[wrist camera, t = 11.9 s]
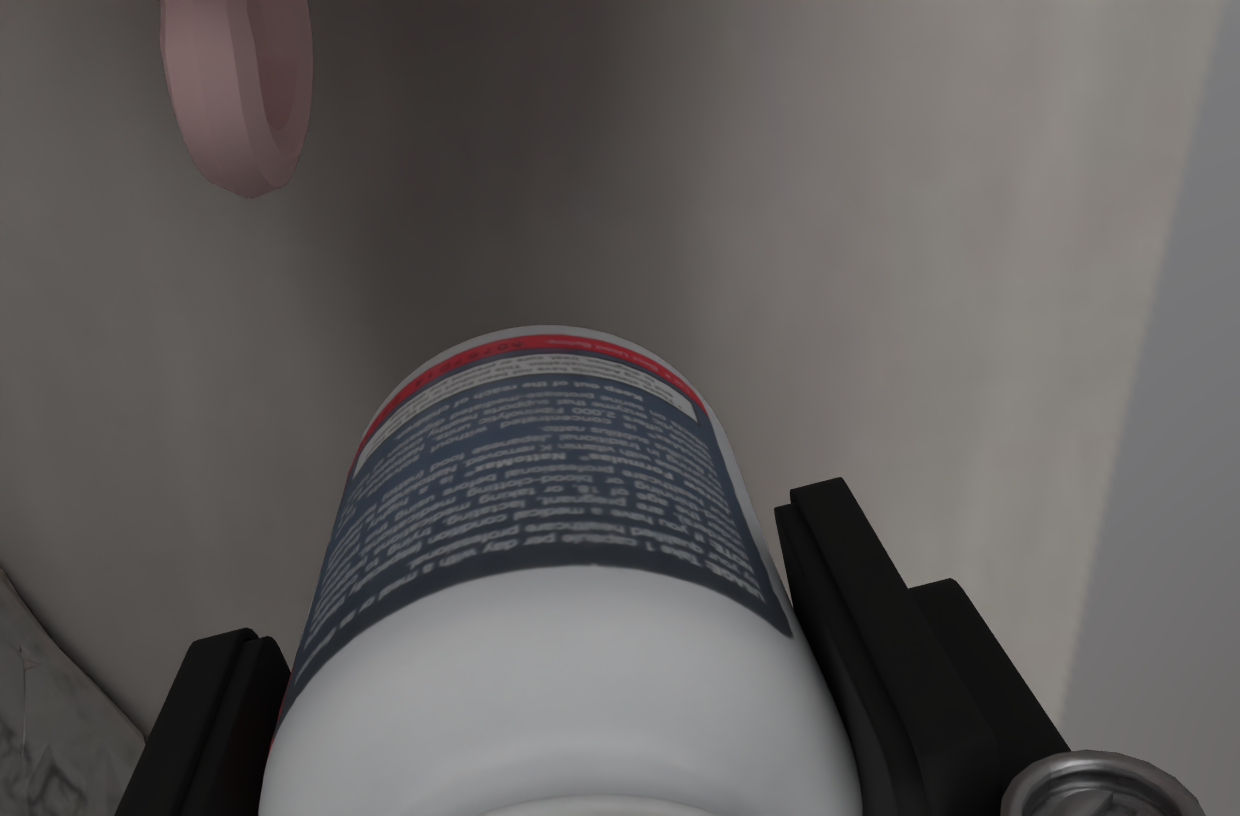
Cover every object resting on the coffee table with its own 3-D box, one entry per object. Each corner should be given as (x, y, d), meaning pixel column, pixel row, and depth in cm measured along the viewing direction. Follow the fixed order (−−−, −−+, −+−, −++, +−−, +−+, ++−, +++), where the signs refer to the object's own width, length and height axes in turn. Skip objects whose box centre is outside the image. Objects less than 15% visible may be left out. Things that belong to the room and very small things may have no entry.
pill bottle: (272, 427, 14) (-54, 1116, 6) (632, 246, 13) (814, 732, 5) (473, 707, 16) (435, 1490, 8) (791, 561, 16) (1090, 1248, 8)
